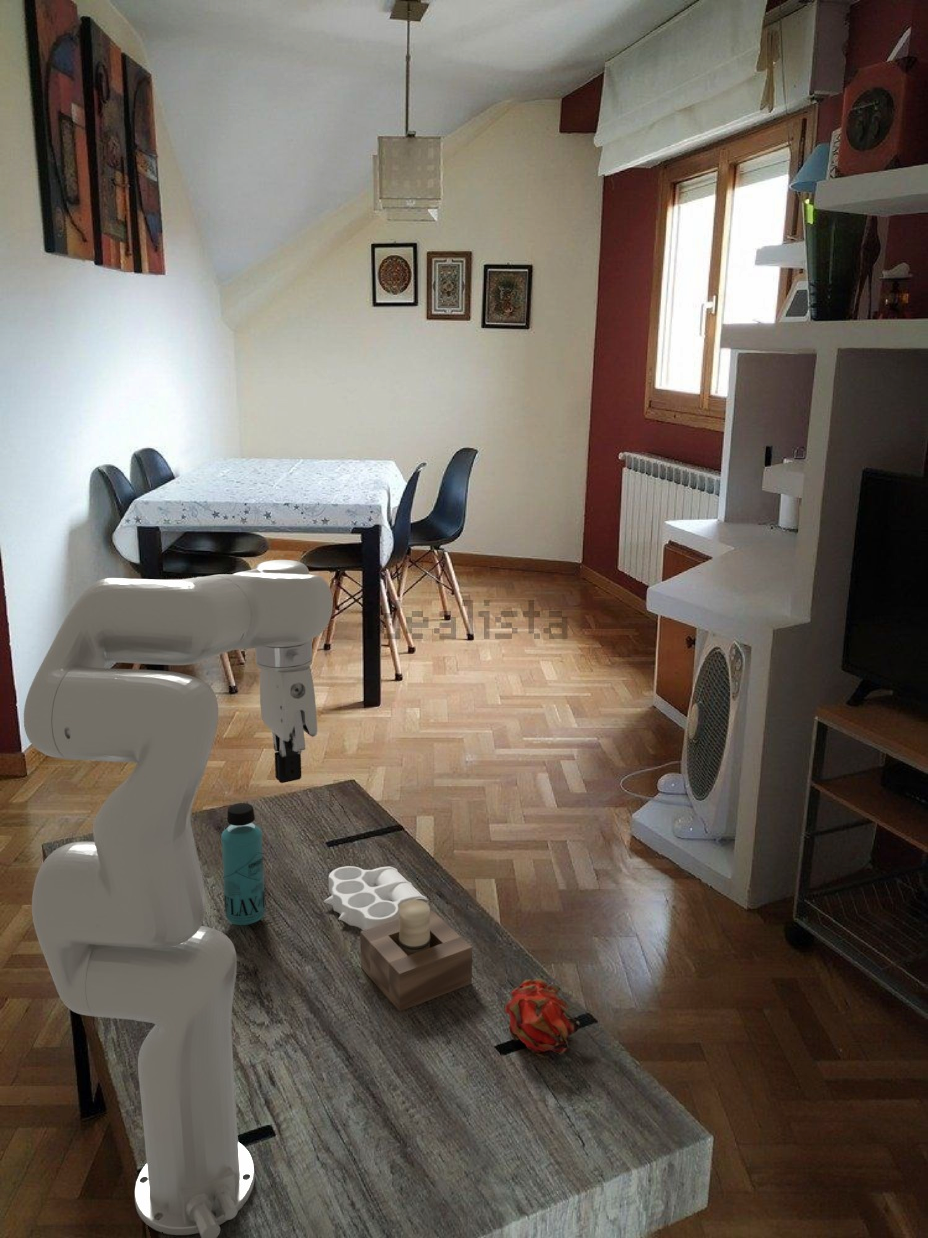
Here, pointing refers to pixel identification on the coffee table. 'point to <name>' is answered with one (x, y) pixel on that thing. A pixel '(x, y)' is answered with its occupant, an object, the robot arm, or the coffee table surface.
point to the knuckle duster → (369, 895)
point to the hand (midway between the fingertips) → (288, 779)
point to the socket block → (416, 963)
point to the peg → (414, 926)
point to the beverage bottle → (243, 867)
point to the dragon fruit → (540, 1017)
